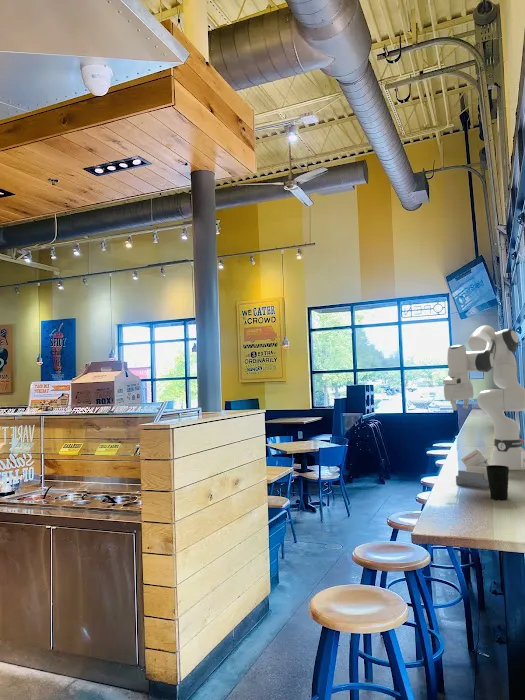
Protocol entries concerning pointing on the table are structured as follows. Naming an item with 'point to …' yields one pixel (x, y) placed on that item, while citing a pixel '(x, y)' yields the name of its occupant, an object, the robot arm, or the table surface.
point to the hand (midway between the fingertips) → (460, 409)
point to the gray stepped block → (472, 479)
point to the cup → (498, 481)
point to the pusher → (477, 470)
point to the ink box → (476, 459)
